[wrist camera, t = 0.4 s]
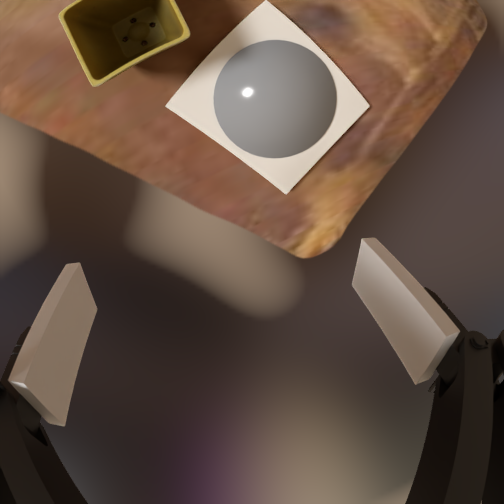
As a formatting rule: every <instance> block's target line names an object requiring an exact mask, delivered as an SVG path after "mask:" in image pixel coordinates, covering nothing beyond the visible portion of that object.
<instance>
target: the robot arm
mask: <svg viewBox="0 0 504 504" xmlns="http://www.w3.org/2000/svg"><path fill="white" fill-rule="evenodd" d="M352 286H353V287H354V289H355V290H356V292H357V293H358V295H359V296H360V298H361V299H362V301H363V302H364V303H365V305H366V307H367V308H368V309H369V311H370V312H371V314H372V316H373V317H374V319H375V320H376V322H377V323H378V325H379V326H380V328H381V329H382V330H383V332H384V334H385V336H386V337H387V339H388V340H389V342H390V343H391V345H392V347H393V348H394V350H395V352H396V353H397V355H398V356H399V358H400V360H401V361H402V363H403V365H404V366H405V368H406V369H407V371H408V373H409V375H410V376H411V378H412V380H413V381H414V383H415V384H418V383H421V382H423V381H425V380H428V379H430V377H431V376H432V374H433V373H434V372H435V370H437V372H438V373H439V375H438V377H437V378H436V380H435V381H434V382H433V384H432V385H431V386H430V388H429V390H428V391H429V392H431V390H432V389H433V388H434V386H435V391H434V399H433V405H432V410H431V416H430V421H429V426H428V430H427V435H426V439H425V443H424V447H423V451H422V454H421V458H420V462H419V465H418V469H417V472H416V475H415V478H414V481H413V484H412V487H411V490H410V493H409V495H408V498H407V501H406V503H405V504H481V500H482V504H504V380H503V381H502V383H499V380H498V378H499V377H500V376H501V375H502V374H504V330H503V331H502V332H501V333H500V335H499V336H498V338H497V339H487V338H486V337H485V336H484V335H483V334H482V333H479V332H477V331H469V332H468V331H467V330H466V328H465V327H464V326H463V325H462V324H461V322H460V321H459V320H458V319H457V318H456V317H455V315H454V314H453V313H452V312H451V311H450V310H449V309H448V307H447V306H446V305H445V304H444V303H442V301H441V299H440V298H439V297H438V296H437V295H436V294H435V293H434V292H432V291H431V290H429V289H428V288H426V287H425V288H423V287H422V286H421V285H420V284H419V283H418V281H417V280H416V279H415V278H414V277H413V276H412V275H411V274H410V273H409V272H408V271H407V270H406V269H405V268H404V267H403V266H402V264H401V263H400V262H399V261H398V260H397V259H396V258H395V257H394V256H393V255H392V254H391V253H390V252H389V251H388V250H387V249H386V248H385V247H384V246H383V245H382V244H381V243H380V242H379V241H378V240H377V239H376V238H365V239H364V238H363V239H362V240H361V245H360V250H359V255H358V260H357V264H356V269H355V273H354V277H353V282H352ZM96 311H97V307H96V304H95V302H94V299H93V297H92V294H91V292H90V289H89V287H88V284H87V282H86V279H85V276H84V273H83V271H82V267H81V265H80V263H73V264H66V266H65V267H64V269H63V271H62V272H61V274H60V276H59V277H58V279H57V281H56V282H55V284H54V286H53V287H52V289H51V291H50V293H49V294H48V296H47V298H46V300H45V302H44V303H43V305H42V307H41V309H40V311H39V313H38V315H37V317H36V319H35V321H34V323H33V325H32V327H27V328H26V330H25V331H24V332H23V333H22V334H21V335H20V337H19V339H18V341H17V344H16V347H15V348H14V350H13V352H12V355H11V357H10V359H9V361H8V364H7V366H6V369H5V371H4V374H3V376H2V378H1V381H0V504H88V503H87V501H86V500H85V498H84V497H83V496H82V494H81V493H80V491H79V490H78V488H77V487H76V485H75V484H74V482H73V480H72V479H71V477H70V475H69V474H68V472H67V470H66V469H65V467H64V465H63V464H62V462H61V460H60V458H59V456H58V455H57V453H56V451H55V449H54V447H53V445H52V443H51V441H50V439H49V437H48V435H47V433H46V431H45V429H44V427H43V425H42V424H41V423H40V419H41V416H42V417H43V418H44V419H45V420H46V421H47V422H48V423H51V424H56V425H61V426H65V423H66V418H67V413H68V408H69V404H70V399H71V395H72V391H73V387H74V383H75V379H76V375H77V372H78V368H79V365H80V361H81V358H82V354H83V350H84V348H85V344H86V341H87V338H88V335H89V332H90V329H91V326H92V323H93V320H94V317H95V314H96Z"/></svg>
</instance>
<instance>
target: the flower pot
mask: <svg viewBox="0 0 504 504" xmlns="http://www.w3.org/2000/svg"><path fill="white" fill-rule="evenodd" d="M59 19H60V21H61V24H62V26H63V28H64V30H65V32H66V34H67V36H68V38H69V40H70V43H71V45H72V47H73V49H74V51H75V53H76V55H77V57H78V59H79V61H80V63H81V66H82V68H83V70H84V72H85V74H86V76H87V78H88V80H89V81H90V83H91V85H92V86H93V87H97V86H100V85H101V84H103V83H105V82H107V81H108V80H110V79H112V78H114V77H116V76H117V75H119V74H121V73H122V72H124V71H126V70H127V69H129V68H131V67H132V66H134V65H136V64H138V63H140V62H142V61H144V60H146V59H147V58H149V57H151V56H153V55H155V54H158V53H160V52H162V51H164V50H166V49H168V48H170V47H173V46H175V45H177V44H180V43H182V42H183V41H185V40H186V39H188V38H189V37H190V30H189V28H188V26H187V24H186V22H185V20H184V18H183V16H182V14H181V12H180V10H179V8H178V6H177V4H176V2H175V0H77V1H75V2H73V3H72V4H70V5H69V6H67V7H66V8H65V9H64V10H62V11H61V12H60V13H59ZM132 19H136V22H135V23H131V20H132ZM151 23H155V26H154V27H150V24H151ZM124 37H127V38H128V40H127V41H123V38H124ZM143 41H146V42H147V44H146V45H144V46H143V45H142V42H143Z"/></svg>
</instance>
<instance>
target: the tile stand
mask: <svg viewBox="0 0 504 504" xmlns="http://www.w3.org/2000/svg"><path fill="white" fill-rule="evenodd" d="M165 107H167V108H168V109H170V110H171V111H173V112H174V113H176V114H177V115H179V116H180V117H182V118H183V119H185V120H186V121H188V122H189V123H191V124H192V125H194V126H195V127H196V128H198V129H199V130H201V131H202V132H204V133H205V134H206V135H208V136H209V137H211V138H212V139H213V140H215V141H216V142H218V143H219V144H220V145H222V146H223V147H225V148H226V149H227V150H229V151H230V152H231V153H233V154H234V155H235V156H237V157H238V158H239V159H241V160H242V161H243V162H245V163H246V164H247V165H249V166H250V167H251V168H253V169H254V170H255V171H257V172H258V173H259V174H261V175H262V176H263V177H264V178H266V179H267V180H268V181H270V182H271V183H272V184H273V185H275V186H276V187H277V188H278V189H280V190H281V191H282V192H284V193H285V194H287V193H288V192H289V191H290V190H291V189H292V188H293V187H294V186H295V185H296V184H297V182H298V181H299V180H300V179H301V178H302V177H303V176H304V175H305V174H306V173H307V172H308V171H309V170H310V169H311V168H312V166H313V165H314V164H315V163H316V162H317V161H318V160H319V159H320V158H321V157H322V156H323V155H324V154H325V153H326V152H327V151H328V149H329V148H330V147H331V146H332V145H333V144H334V143H335V142H336V141H337V140H338V139H339V138H340V137H341V136H342V135H343V134H344V133H345V132H346V131H347V129H348V128H349V127H350V126H351V125H352V124H353V123H354V122H355V121H356V120H357V119H358V118H359V117H360V116H361V115H362V114H363V113H364V112H365V111H366V110H367V109H368V108H369V107H370V105H369V104H368V103H367V102H366V100H365V99H364V98H363V97H362V95H361V94H360V93H359V92H358V90H357V89H356V88H355V87H354V85H353V84H352V83H351V82H350V81H349V80H348V78H347V77H346V76H345V75H344V74H343V73H342V72H341V70H340V69H339V68H338V67H337V66H336V65H335V64H334V63H333V62H332V61H331V59H330V58H329V57H328V56H327V55H326V54H325V53H324V52H323V51H322V50H321V49H320V48H319V47H318V46H317V45H316V44H315V43H314V42H313V41H312V40H311V39H310V38H309V37H308V36H307V35H306V34H305V33H304V32H303V31H302V30H300V29H299V28H298V27H297V26H296V25H295V24H294V23H293V22H292V21H291V20H289V19H288V18H287V17H286V16H285V15H284V14H282V13H281V12H280V11H279V10H278V9H277V8H275V7H274V6H273V5H272V4H270V3H269V2H268V1H267V0H265V1H264V2H263V3H261V4H260V5H259V6H258V7H257V8H256V9H255V10H253V11H252V12H251V13H250V14H249V15H248V16H247V17H246V18H245V19H244V20H242V21H241V22H240V23H239V24H238V25H237V26H236V27H235V28H234V29H233V30H232V31H231V32H230V33H229V34H228V35H227V36H226V37H225V38H224V39H223V40H222V41H221V42H220V43H219V44H218V45H217V46H216V47H215V48H214V49H213V50H212V51H211V53H210V54H209V55H208V56H207V57H206V58H205V59H204V60H203V61H202V62H201V63H200V65H199V66H198V67H197V68H196V69H195V70H194V71H193V73H192V74H191V75H190V76H189V77H188V78H187V80H186V81H185V82H184V83H183V84H182V86H181V87H180V88H179V89H178V91H177V92H176V93H175V94H174V96H173V97H172V98H171V99H170V101H169V102H168V103H167V105H166V106H165Z"/></svg>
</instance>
